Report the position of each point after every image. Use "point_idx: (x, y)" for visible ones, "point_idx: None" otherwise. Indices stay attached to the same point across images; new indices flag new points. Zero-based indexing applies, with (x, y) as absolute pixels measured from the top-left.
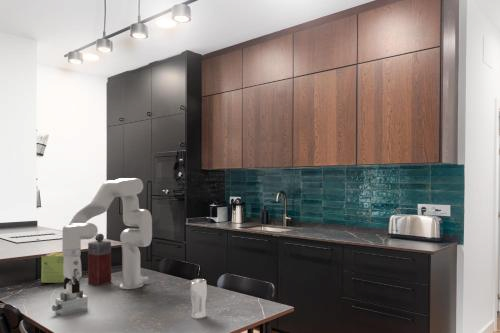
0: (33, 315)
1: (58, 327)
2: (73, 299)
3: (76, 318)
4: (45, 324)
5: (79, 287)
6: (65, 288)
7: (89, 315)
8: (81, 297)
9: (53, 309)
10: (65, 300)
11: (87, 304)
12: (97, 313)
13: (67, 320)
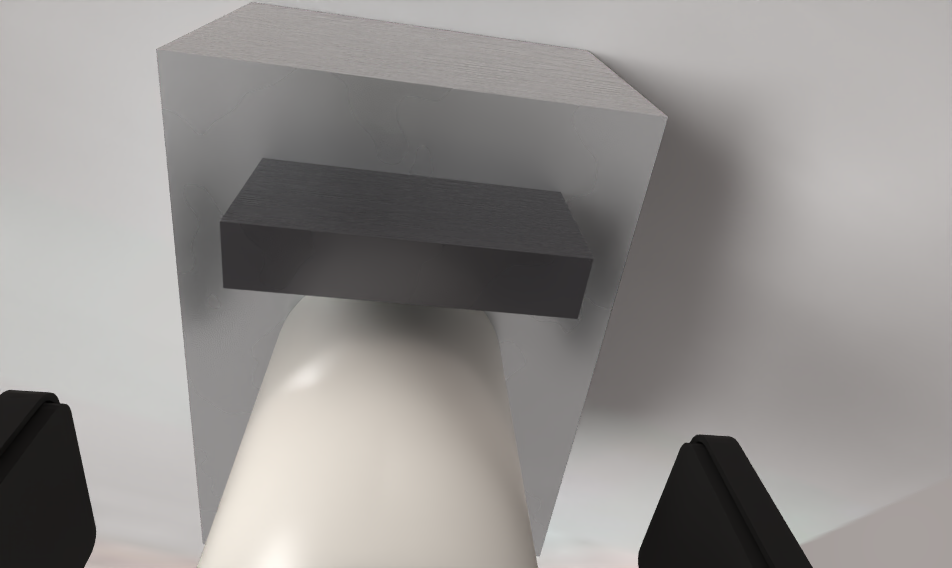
0: (198, 552)
1: (797, 528)
2: (576, 403)
3: (759, 333)
4: (602, 563)
5: (794, 543)
6: (89, 540)
7: (843, 177)
8: (606, 251)
9: None
10: None
11: (610, 70)
12: (904, 49)
13: (712, 416)
